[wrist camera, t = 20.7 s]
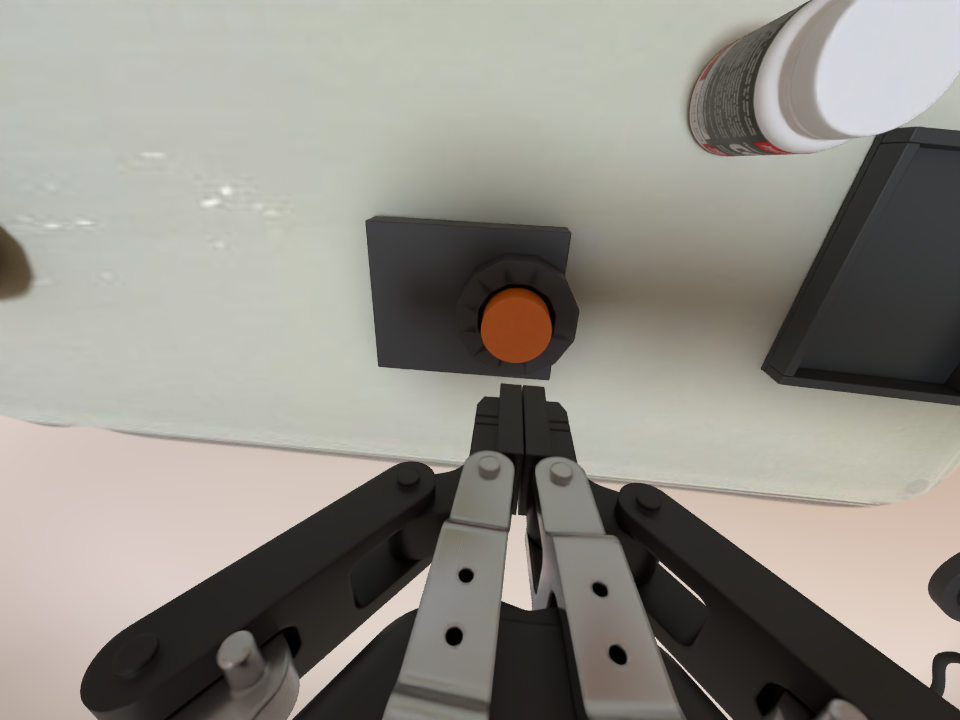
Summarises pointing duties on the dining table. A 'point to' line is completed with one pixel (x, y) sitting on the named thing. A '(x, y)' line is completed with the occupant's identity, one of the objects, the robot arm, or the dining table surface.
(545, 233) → the black button base
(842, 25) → the pill bottle
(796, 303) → the shallow black tray
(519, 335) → the timer button
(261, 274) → the dining table surface
